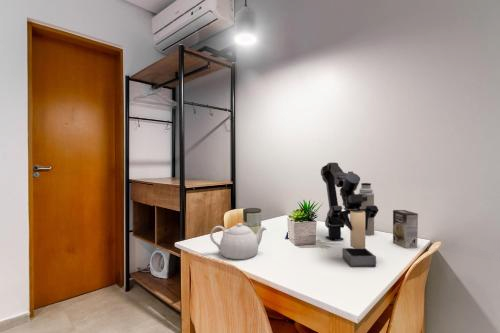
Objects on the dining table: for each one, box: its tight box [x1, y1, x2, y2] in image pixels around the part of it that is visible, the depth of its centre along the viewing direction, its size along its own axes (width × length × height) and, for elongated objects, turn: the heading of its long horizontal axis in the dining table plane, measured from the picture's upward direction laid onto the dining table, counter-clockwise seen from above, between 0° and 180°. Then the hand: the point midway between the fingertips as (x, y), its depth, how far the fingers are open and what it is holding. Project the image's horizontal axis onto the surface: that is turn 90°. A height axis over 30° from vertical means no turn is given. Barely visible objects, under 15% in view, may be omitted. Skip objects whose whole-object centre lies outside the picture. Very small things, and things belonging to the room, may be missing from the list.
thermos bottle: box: [357, 182, 375, 236], centre depth 146 cm, size 8×8×28 cm
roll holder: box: [341, 247, 377, 268], centre depth 106 cm, size 10×10×4 cm
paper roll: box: [349, 211, 366, 249], centre depth 106 cm, size 6×6×14 cm
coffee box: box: [392, 209, 419, 249], centre depth 126 cm, size 9×6×16 cm
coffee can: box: [242, 207, 262, 235], centre depth 147 cm, size 10×10×14 cm
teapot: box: [209, 222, 267, 260], centre depth 118 cm, size 19×18×14 cm
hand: (359, 229), depth 104 cm, fingers closed on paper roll, 6 cm apart
